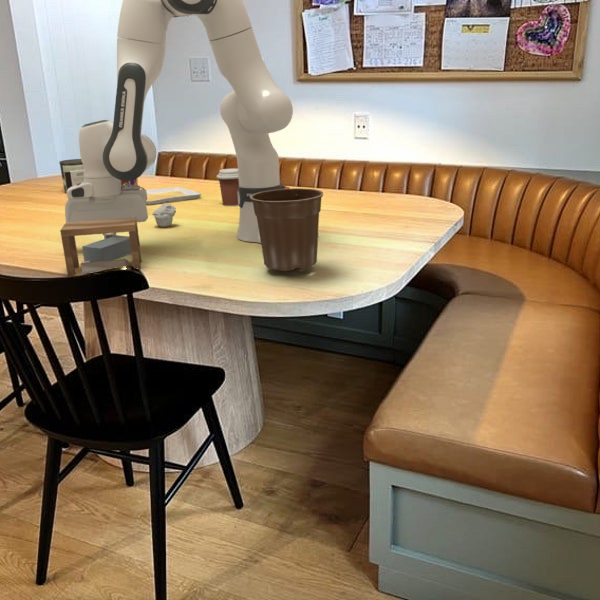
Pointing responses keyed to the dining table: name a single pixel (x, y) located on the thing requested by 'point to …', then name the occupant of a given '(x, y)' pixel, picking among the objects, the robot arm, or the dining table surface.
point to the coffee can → (70, 168)
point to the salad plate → (188, 193)
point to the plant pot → (288, 226)
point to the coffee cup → (229, 186)
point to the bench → (99, 228)
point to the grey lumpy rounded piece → (164, 215)
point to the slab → (107, 249)
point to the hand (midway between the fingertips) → (110, 240)
